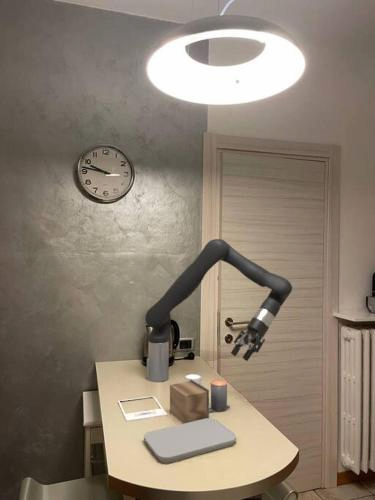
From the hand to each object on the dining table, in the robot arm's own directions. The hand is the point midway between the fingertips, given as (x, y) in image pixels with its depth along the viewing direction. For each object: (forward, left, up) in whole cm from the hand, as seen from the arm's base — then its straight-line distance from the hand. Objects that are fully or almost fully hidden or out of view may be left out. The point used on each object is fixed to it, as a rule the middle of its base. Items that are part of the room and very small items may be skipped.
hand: (238, 357), depth 141 cm
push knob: (-7, -5, -18) cm, 20 cm away
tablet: (-11, -31, -19) cm, 38 cm away
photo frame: (-34, -13, -19) cm, 41 cm away
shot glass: (-20, +7, -19) cm, 28 cm away
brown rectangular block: (-11, -10, -18) cm, 24 cm away
